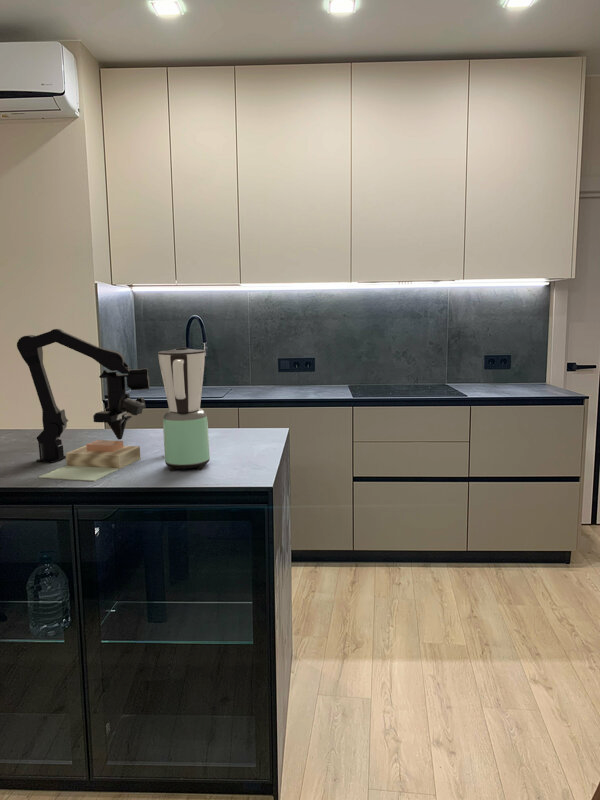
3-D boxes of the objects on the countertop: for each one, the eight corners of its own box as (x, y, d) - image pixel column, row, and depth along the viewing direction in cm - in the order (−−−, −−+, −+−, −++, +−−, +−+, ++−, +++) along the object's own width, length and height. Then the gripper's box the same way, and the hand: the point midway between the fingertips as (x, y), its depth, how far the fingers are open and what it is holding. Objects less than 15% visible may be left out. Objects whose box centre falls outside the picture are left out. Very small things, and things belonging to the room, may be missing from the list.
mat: (38, 477, 170) (38, 476, 169) (65, 466, 181) (65, 465, 181) (94, 481, 165) (94, 480, 165) (118, 469, 176) (118, 468, 176)
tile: (86, 450, 183) (86, 444, 183) (98, 446, 189) (97, 440, 189) (112, 451, 181) (112, 445, 181) (123, 447, 187) (123, 441, 186)
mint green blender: (168, 460, 186) (161, 346, 180) (211, 457, 187) (206, 345, 181) (160, 477, 167) (152, 351, 162) (208, 474, 168) (202, 349, 163)
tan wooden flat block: (66, 466, 181) (65, 453, 181) (90, 456, 193) (89, 444, 192) (119, 469, 177) (118, 455, 176) (140, 458, 188) (139, 446, 187)
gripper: (122, 396, 180) (126, 446, 182) (153, 387, 197) (156, 433, 200) (90, 395, 182) (94, 445, 185) (123, 387, 200) (127, 432, 203)
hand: (119, 439), depth 193 cm, fingers closed
